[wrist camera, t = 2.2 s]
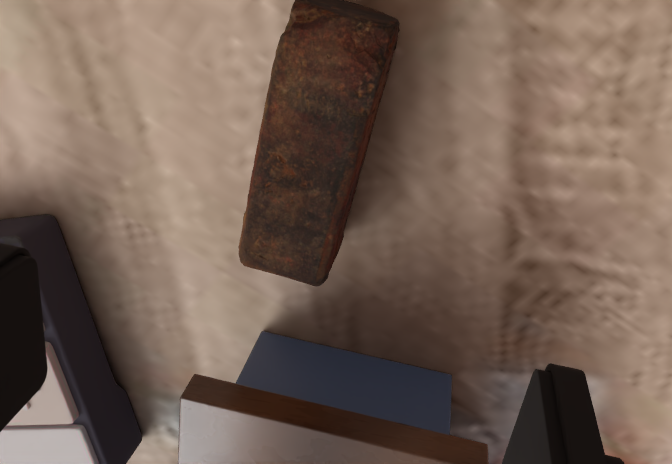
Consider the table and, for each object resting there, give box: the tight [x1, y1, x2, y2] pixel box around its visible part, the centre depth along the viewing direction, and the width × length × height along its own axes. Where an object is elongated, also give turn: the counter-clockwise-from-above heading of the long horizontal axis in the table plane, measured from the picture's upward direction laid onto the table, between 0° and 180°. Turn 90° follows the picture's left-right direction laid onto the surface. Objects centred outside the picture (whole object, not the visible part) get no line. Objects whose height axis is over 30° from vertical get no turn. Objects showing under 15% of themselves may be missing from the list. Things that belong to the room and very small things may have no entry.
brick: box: [239, 0, 399, 286], centre depth 26 cm, size 11×4×5 cm, turn 166°
